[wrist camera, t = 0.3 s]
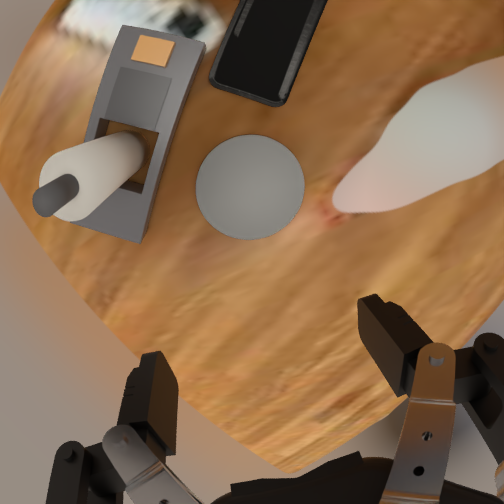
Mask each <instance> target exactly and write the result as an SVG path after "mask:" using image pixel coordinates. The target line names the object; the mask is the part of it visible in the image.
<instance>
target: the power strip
mask: <svg viewBox="0 0 504 504" xmlns="http://www.w3.org/2000/svg"><path fill="white" fill-rule="evenodd" d="M205 51H206V45H205V43H204V42H201V41H197V40H193V39H189V38H185V37H181V36H177V35H173V34H168V33H164V32H159V31H154V30H149V29H144V28H138V27H132V26H126V25H122V27H121V29H120V31H119V34H118V36H117V39H116V41H115V44H114V46H113V49H112V51H111V54H110V57H109V59H108V62H107V65H106V68H105V71H104V74H103V77H102V80H101V83H100V86H99V89H98V92H97V95H96V99H95V102H94V105H93V109H92V113H91V116H90V120H89V124H88V128H87V132H86V136H85V140H84V143H86V142H89V141H92V140H95V139H98V138H101V137H104V136H105V134H106V130H107V127H108V123H109V120H112V121H116V122H120V123H124V124H128V125H132V126H136V127H139V128H143V129H147V130H151V131H155V132H159V136H158V139H157V142H156V145H155V149H154V152H153V155H152V159H151V162H150V166H149V169H148V173H147V177H146V180H145V184H144V185H142V184H138V183H135V182H131V181H128V180H126V181H125V182H124V183H123V184H122V185H121V186H120V187H119V188H117V189H116V190H115V191H114V192H113V193H112V194H111V195H110V196H109V197H107V198H106V199H105V200H104V201H103V202H102V203H101V204H100V205H99V206H98V207H97V208H96V209H95V210H94V211H92V212H91V213H90V214H89V215H88V216H87V217H85V218H83V219H81V220H78V221H70V223H73V224H76V225H79V226H82V227H86V228H89V229H92V230H95V231H99V232H102V233H105V234H109V235H112V236H115V237H119V238H122V239H125V240H129V241H132V242H135V243H139V244H141V242H142V240H143V238H144V236H145V234H146V231H147V227H148V223H149V219H150V215H151V211H152V208H153V204H154V200H155V196H156V193H157V189H158V186H159V182H160V179H161V175H162V172H163V168H164V165H165V162H166V158H167V155H168V152H169V149H170V146H171V143H172V139H173V136H174V133H175V130H176V127H177V124H178V122H179V119H180V116H181V113H182V110H183V107H184V105H185V102H186V99H187V96H188V94H189V91H190V88H191V86H192V83H193V80H194V78H195V75H196V73H197V70H198V68H199V65H200V63H201V60H202V58H203V56H204V53H205Z"/></svg>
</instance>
